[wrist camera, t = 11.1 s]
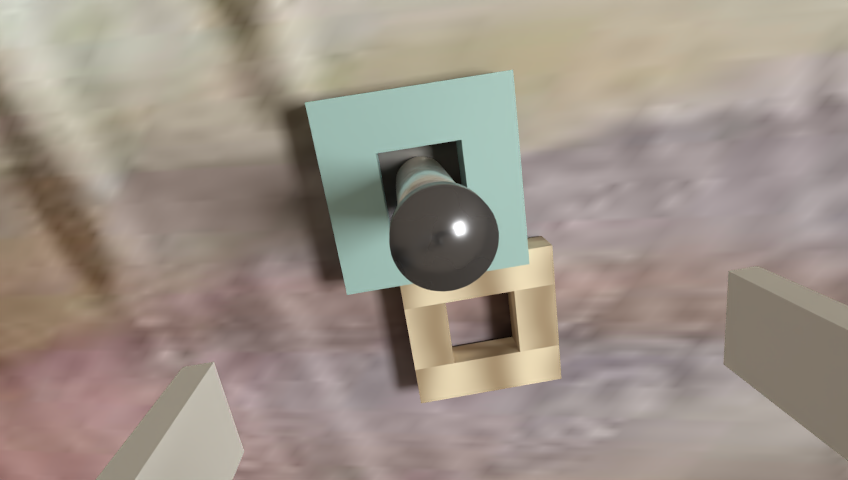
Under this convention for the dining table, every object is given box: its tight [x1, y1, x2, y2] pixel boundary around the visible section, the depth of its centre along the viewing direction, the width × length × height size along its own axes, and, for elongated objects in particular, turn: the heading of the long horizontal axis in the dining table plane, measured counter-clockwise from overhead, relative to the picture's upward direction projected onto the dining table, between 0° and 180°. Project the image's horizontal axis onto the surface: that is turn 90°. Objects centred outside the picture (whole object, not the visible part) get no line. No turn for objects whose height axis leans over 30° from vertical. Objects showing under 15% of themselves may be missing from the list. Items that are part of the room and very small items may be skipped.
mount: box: [400, 236, 561, 403], centre depth 37 cm, size 12×12×2 cm
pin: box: [389, 156, 499, 292], centre depth 28 cm, size 5×5×15 cm
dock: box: [305, 70, 529, 295], centre depth 33 cm, size 14×14×3 cm
